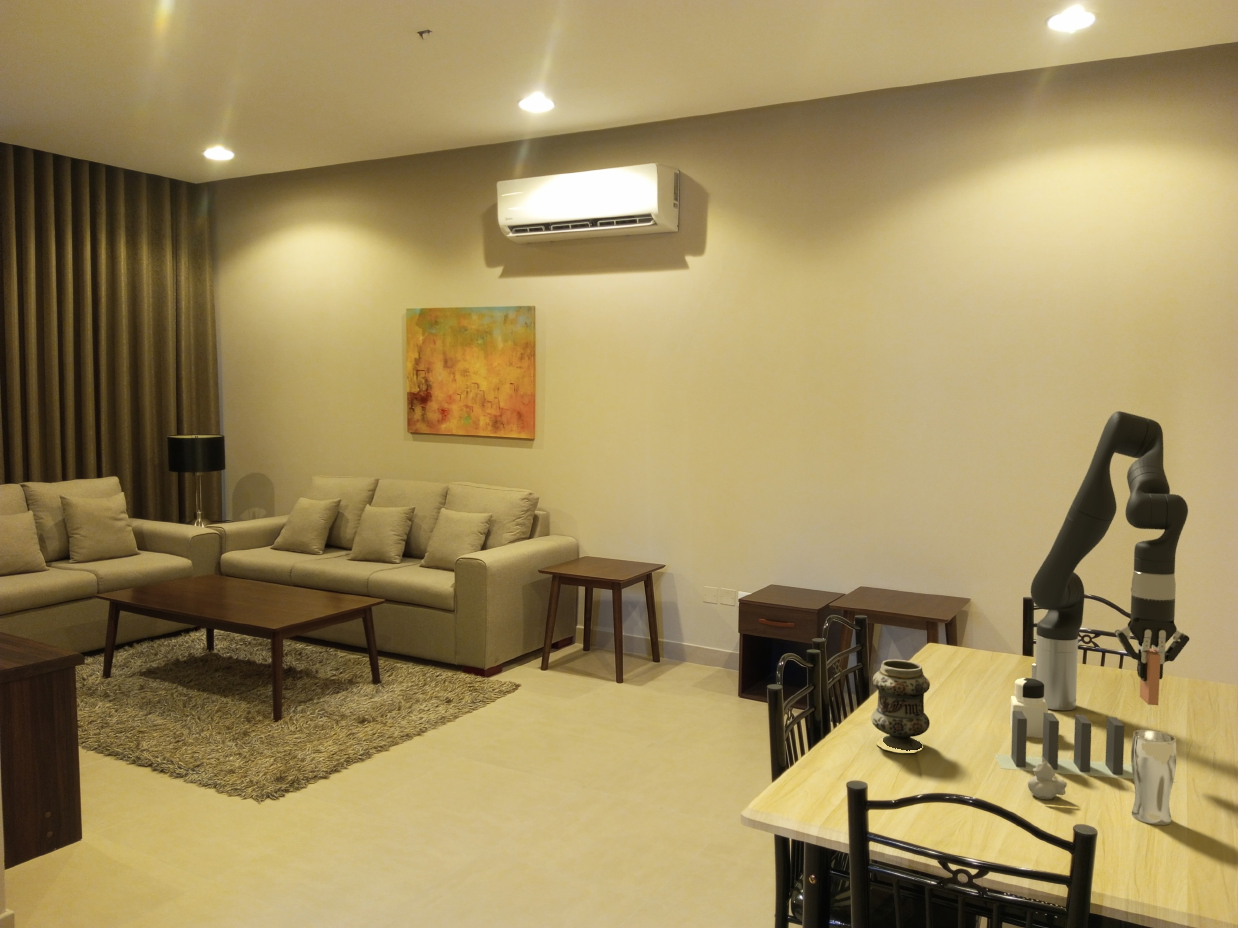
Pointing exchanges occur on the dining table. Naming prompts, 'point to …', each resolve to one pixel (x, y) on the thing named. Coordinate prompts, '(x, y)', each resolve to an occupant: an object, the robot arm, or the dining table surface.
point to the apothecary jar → (901, 703)
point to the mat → (1065, 767)
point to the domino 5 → (1151, 679)
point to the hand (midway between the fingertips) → (1149, 680)
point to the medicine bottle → (1030, 704)
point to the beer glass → (1153, 775)
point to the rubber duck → (1045, 782)
